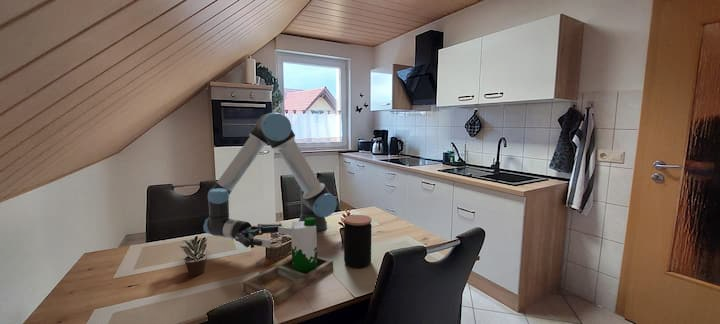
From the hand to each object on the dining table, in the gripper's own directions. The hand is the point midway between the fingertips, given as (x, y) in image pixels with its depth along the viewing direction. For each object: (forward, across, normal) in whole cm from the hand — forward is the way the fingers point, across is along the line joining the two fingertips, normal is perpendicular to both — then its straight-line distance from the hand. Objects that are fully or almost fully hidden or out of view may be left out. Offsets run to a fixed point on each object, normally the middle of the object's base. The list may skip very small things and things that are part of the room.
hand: (281, 237), depth 114 cm
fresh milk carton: (+10, 0, -12) cm, 15 cm away
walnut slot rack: (+9, +6, -11) cm, 16 cm away
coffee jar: (+26, -14, -11) cm, 31 cm away
